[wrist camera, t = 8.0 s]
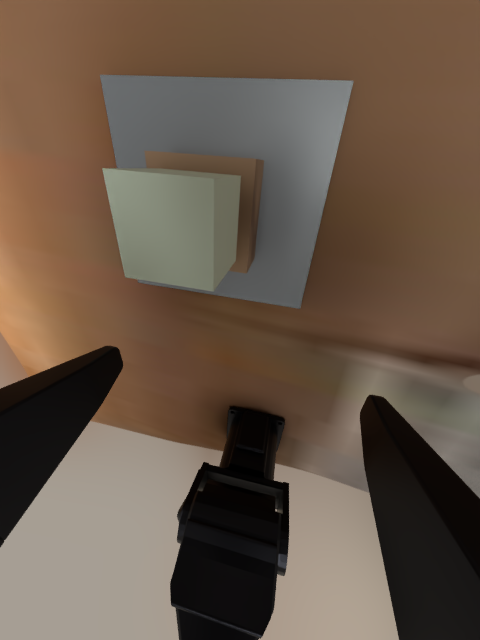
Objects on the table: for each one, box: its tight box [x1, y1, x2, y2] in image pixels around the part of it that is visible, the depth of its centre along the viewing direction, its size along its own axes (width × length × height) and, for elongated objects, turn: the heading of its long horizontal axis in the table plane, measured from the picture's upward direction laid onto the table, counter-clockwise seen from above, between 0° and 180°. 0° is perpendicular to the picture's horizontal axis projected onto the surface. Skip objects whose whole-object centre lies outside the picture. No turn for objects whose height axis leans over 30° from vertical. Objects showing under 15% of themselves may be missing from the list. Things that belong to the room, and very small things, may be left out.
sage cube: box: [102, 168, 241, 292], centre depth 12 cm, size 4×4×4 cm
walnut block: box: [145, 151, 264, 274], centre depth 15 cm, size 6×6×3 cm
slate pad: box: [100, 75, 353, 309], centre depth 16 cm, size 13×14×1 cm
